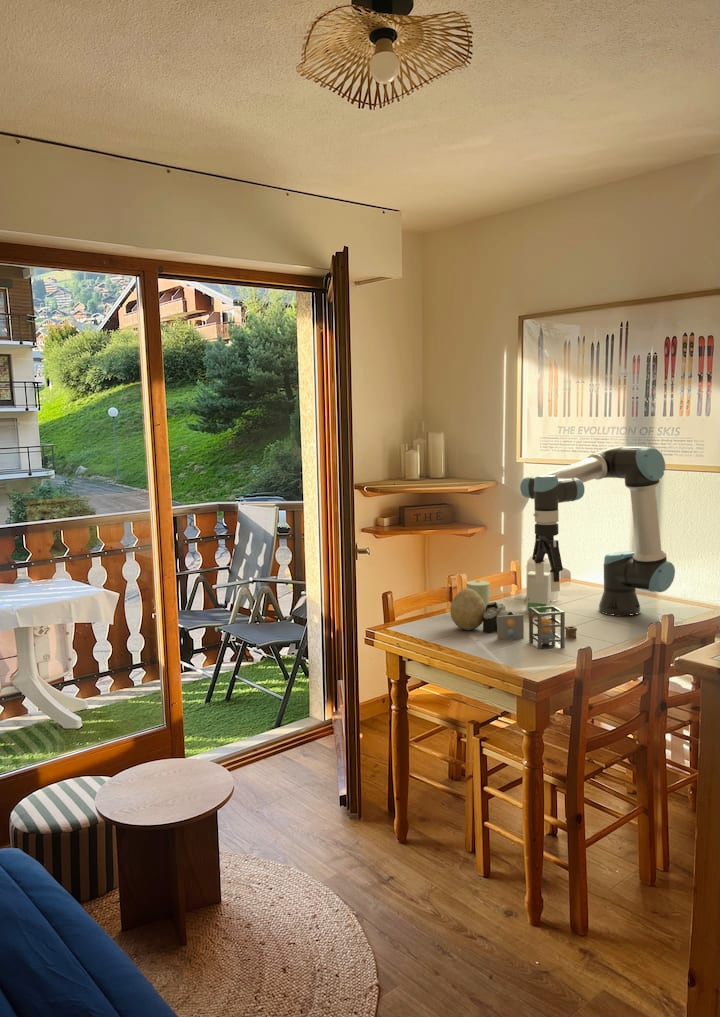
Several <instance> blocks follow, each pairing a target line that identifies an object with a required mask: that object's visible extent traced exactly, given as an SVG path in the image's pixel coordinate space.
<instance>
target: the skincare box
mask: <svg viewBox="0 0 720 1017" xmlns="http://www.w3.org/2000/svg"><path fill="white" fill-rule="evenodd" d="M550 603H551V602H550V573H546V572H544V582H539V583H536V582H535V571H530V572H529V573H528V574H527V573H526V613H527V614H529V607H544V606H551V605H550ZM536 611H538V612H539V613H548V612H550V609H543V610H536ZM534 614H535V613H534V612H533V615H534ZM535 615H536V614H535Z"/></svg>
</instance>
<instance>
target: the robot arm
mask: <svg viewBox="0 0 720 1017" xmlns="http://www.w3.org/2000/svg"><path fill="white" fill-rule="evenodd" d="M665 471H666V461H665V458H664V455H663V454H662V452H661V451H659V449H657V448H655V447H650V446H649V447H648V446H644V445H643V446H614V447H610V448H607V449H603V450H600V451H598V452H595V453H592V454H590V455H588V456H587V457H586V459H584V460H582V461H578V462H576V463H573V464H569V465H567V466H564V467H561V468H559V469H556V470H553V471H550V472H548V473H544V474H542V475H537V476H534V475H533V476H526V477H524V478H523V479H522V480H521V483H520V486H519V489H520V493H521V495H522V496H523V497H524V498H526V499H531V500H534V513H533V517H534V522H535V524H534V534H535V537H534V538H535V539H534V540H535V542H534V547H533V552H532V555H533V557H532V559H533V560H534V562H535V582H536V583H539V582H544V563H541V562H544V560H543V559H544V556H545V553H546V554H547V555H548V559H549V562H550V566H551V570H550V572H551V592H556V591H559V592H560V591H561V586H560V585H561V583H560V582H561V580H560V579H561V577H560V576H561V575H560V573H561V571H563V570H564V569H563V567H564V566H563V562H562V557H561V552H560V548H559V546H560V544H559V540H557V539H556V540H555V538H554V537H555V536H558V535H559V523H558V522H559V504H560V503H567V502H568V503H569V502H575V501H578V500H581V499H582V498H583V497H584V495H585V490H586V489H585V488H586V487H585V484H584V483H586V482H588V481H591V480H597V481H598V480H603V479H607V478H609V479H611V478H614V479H624V484H625V485H624V486H625V487H626V488H627V489H629V490H630V491H629V492H630V501H631V510H632V512H631V513H632V519H633V521H632V522H633V530H634V540H635V541H634V542H635V550H636V551H616V552H610V553H607V554H605V556H604V558H603V593H602V596H601V597H600V601H599V605H598V611H599V610H600V611H601V612H604V613H607V614H606V615H608V614H614V615H630V614H636V613H639V612H640V613H641V605H640V602H639V599H638V596H637V592H636V590H637V589H638V590H644V591H648V592H651V593H654V592H656V593H663V592H666V591H667V590H668V589H669V588H670V587H671V586H672V584H673V583H674V579H675V574H676V569H675V565H674V563H672V562H671V561H669V560H667V554H666V552H665V551H663V550H662V544H661V534H660V522H659V512H658V501H657V492H656V490H657V489H656V487H657V486H658V485H659V484H660V480H661V479H662V478H663V477H664V475H665ZM600 611H599V612H600ZM601 612H600V613H601ZM604 613H603V614H604ZM640 613H639V614H640ZM614 615H613V616H614Z"/></svg>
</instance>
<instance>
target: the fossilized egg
mask: <svg viewBox="0 0 720 1017" xmlns="http://www.w3.org/2000/svg"><path fill="white" fill-rule="evenodd" d="M484 612H486V607H485V604H484V601H483V599H482V598H481V596H480V595H479V594H478V593H477V592H476V591H474V590H472V589H467V588H464V589H461V590H459V591H458V592H457V594H456V595H455V596H454V597H453V599H452V601H451V604H450V612H449V614H450V618H451V620H452V622H453V623H454V624H455V626H457V627H458V628H460V629H462V630H466V631H472V630H475V629H477V628H479V627H480V626H481V625H483V617H484Z"/></svg>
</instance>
